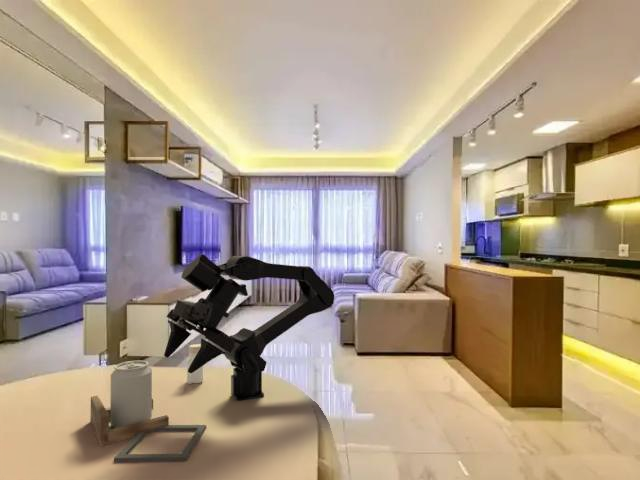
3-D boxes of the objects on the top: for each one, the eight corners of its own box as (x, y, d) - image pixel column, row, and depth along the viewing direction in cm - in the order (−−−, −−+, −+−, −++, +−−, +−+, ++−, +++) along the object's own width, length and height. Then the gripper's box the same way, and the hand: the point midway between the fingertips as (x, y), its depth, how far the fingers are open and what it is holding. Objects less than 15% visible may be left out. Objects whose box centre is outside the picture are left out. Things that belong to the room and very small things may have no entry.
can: (119, 436, 73) (120, 372, 73) (104, 424, 78) (104, 364, 78) (158, 422, 78) (158, 363, 79) (141, 412, 83) (141, 356, 83)
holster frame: (145, 428, 76) (145, 425, 76) (206, 427, 76) (206, 424, 76) (113, 461, 64) (113, 457, 64) (186, 461, 64) (186, 457, 64)
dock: (151, 407, 86) (151, 384, 86) (168, 427, 76) (168, 401, 76) (90, 421, 79) (90, 396, 79) (100, 446, 69) (100, 417, 69)
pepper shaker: (188, 379, 104) (188, 344, 105) (203, 378, 105) (203, 343, 106) (186, 384, 100) (187, 347, 101) (202, 383, 101) (203, 346, 102)
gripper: (172, 275, 90) (127, 335, 84) (222, 296, 78) (175, 368, 73) (202, 297, 98) (163, 354, 92) (252, 320, 86) (212, 386, 80)
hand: (177, 364), depth 84 cm, fingers open, 9 cm apart
